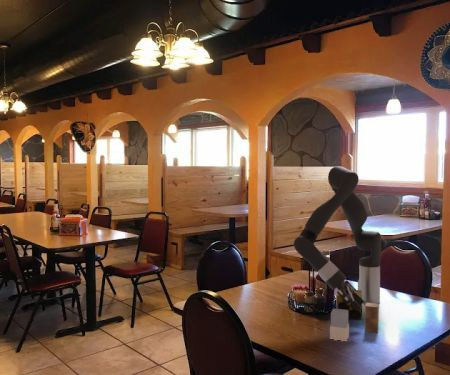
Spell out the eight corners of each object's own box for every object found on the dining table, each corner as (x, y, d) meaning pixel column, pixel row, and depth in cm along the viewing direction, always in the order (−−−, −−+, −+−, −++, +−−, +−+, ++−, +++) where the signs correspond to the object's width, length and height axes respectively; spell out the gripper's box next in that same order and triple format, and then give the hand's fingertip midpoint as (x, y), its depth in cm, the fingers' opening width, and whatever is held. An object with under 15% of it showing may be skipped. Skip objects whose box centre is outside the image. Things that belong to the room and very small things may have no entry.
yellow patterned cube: (362, 312, 189) (362, 290, 188) (361, 320, 179) (361, 296, 179) (338, 310, 192) (338, 288, 192) (336, 318, 183) (336, 294, 182)
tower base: (329, 339, 160) (329, 326, 160) (332, 333, 166) (332, 321, 166) (346, 342, 158) (346, 328, 158) (349, 336, 163) (349, 323, 163)
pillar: (365, 331, 168) (365, 305, 167) (366, 327, 172) (366, 302, 171) (377, 333, 166) (377, 307, 165) (378, 328, 170) (378, 303, 169)
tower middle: (330, 326, 160) (330, 313, 160) (333, 321, 165) (333, 308, 165) (346, 328, 158) (346, 314, 158) (348, 323, 163) (348, 310, 163)
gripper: (334, 273, 167) (365, 306, 162) (341, 265, 179) (370, 295, 175) (321, 285, 169) (351, 318, 165) (328, 276, 182) (356, 306, 178)
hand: (360, 306), depth 170 cm, fingers open, 8 cm apart
